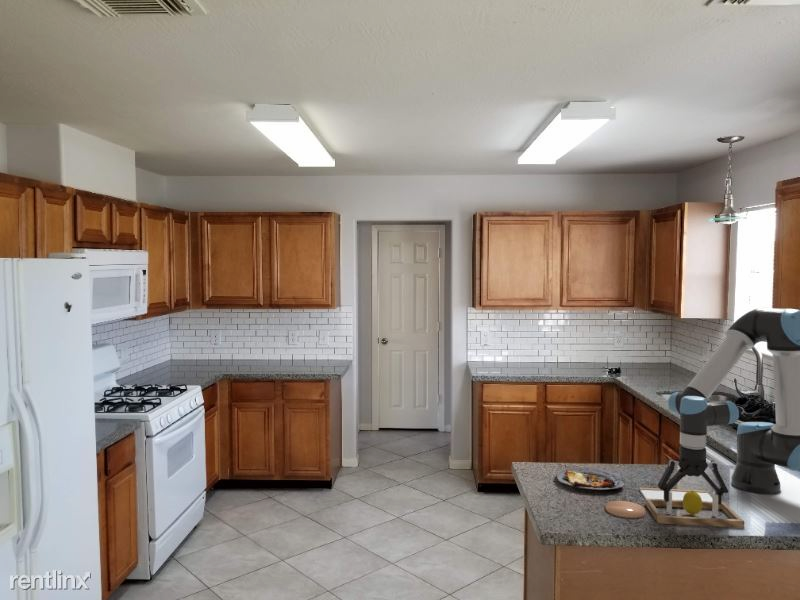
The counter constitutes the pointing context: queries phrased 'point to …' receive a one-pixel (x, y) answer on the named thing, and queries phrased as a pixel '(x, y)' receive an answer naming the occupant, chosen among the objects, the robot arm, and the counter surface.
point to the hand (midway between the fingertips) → (692, 513)
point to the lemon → (692, 502)
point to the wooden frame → (732, 522)
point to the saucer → (625, 509)
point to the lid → (676, 494)
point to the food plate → (577, 479)
